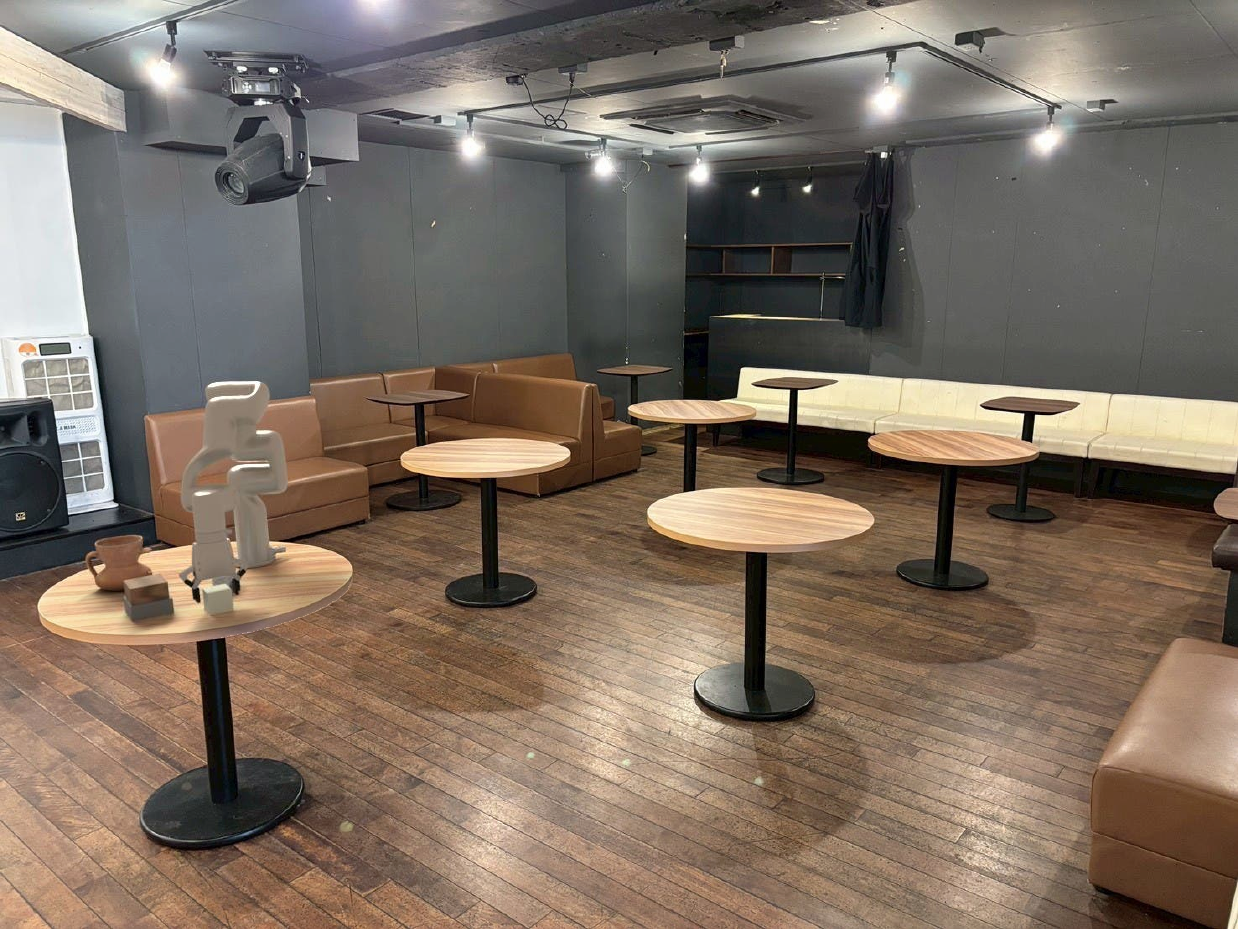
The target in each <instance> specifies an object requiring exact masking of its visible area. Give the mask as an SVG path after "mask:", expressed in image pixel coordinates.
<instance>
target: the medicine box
mask: <svg viewBox="0 0 1238 929" xmlns="http://www.w3.org/2000/svg"><path fill="white" fill-rule="evenodd" d="M232 579H233V577H232V576H231V575H230V576H226V577H221V578H215V579H211V581H212V586H216V585H221V584H226V585H227V586H228V587H230V588H232Z"/></svg>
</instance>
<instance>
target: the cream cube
mask: <svg viewBox="0 0 1238 929" xmlns="http://www.w3.org/2000/svg"><path fill="white" fill-rule="evenodd" d="M201 592H202V600H203V601H202V602H203V609H204V611H206V613H207V614H208V615H209V616H214V615H218V614H223V613H227V612H232V611H234V610H235V609H234V602H233V600H234V599H233V588H232V587H228V586H227V585H226V584H221V585H216V586H213V585H212V586H207V587H202V588H201Z"/></svg>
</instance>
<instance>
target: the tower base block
mask: <svg viewBox="0 0 1238 929" xmlns="http://www.w3.org/2000/svg"><path fill="white" fill-rule="evenodd" d="M123 603H124V611H125V613H126V614H127V616H128V618H129V619H130V621H131V622H132V623H134V622H140V621H144V620H150V619H153V618H157V617H162V616H168V615H172V614H174V613H175V608H174V600H173V597H172V596H171V594H169V598H167V599H162V600H157V601H152V602H147V603H142V604H137V605H131V604H130V602H129V601H128V600H127V598H126V597H125V595H124V596H123Z"/></svg>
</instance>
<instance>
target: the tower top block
mask: <svg viewBox="0 0 1238 929" xmlns="http://www.w3.org/2000/svg"><path fill="white" fill-rule="evenodd" d="M123 582H124V590H123V591H124V596H125V597H126V598H127V600H128V601H129V602H130V604H131V605H137V604H142V603H147V602H152V601H157V600H162V599H167V598H169V595H170V592H169V591H170V590H169V583H168V581H167V579H166V578H165V577H164V576H163V575H162V574H161V573H156V574H152V575H150V576H145V577H139V578H134V579H129V580H123Z"/></svg>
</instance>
